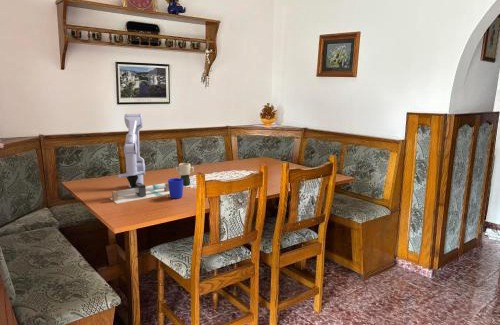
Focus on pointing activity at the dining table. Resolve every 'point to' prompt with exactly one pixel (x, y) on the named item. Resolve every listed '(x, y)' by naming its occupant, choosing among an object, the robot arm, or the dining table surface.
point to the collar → (141, 189)
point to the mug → (175, 187)
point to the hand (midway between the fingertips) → (133, 188)
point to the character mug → (185, 172)
